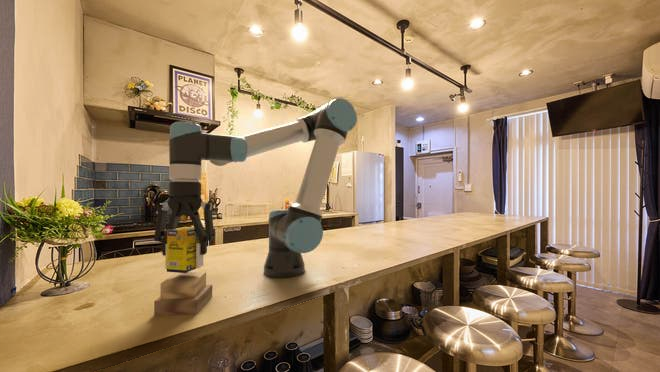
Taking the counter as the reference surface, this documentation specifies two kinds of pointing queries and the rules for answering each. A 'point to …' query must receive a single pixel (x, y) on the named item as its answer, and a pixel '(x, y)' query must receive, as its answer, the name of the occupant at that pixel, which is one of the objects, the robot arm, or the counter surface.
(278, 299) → the counter surface
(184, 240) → the supplement box
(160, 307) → the walnut base block
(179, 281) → the oak block
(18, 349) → the counter surface
